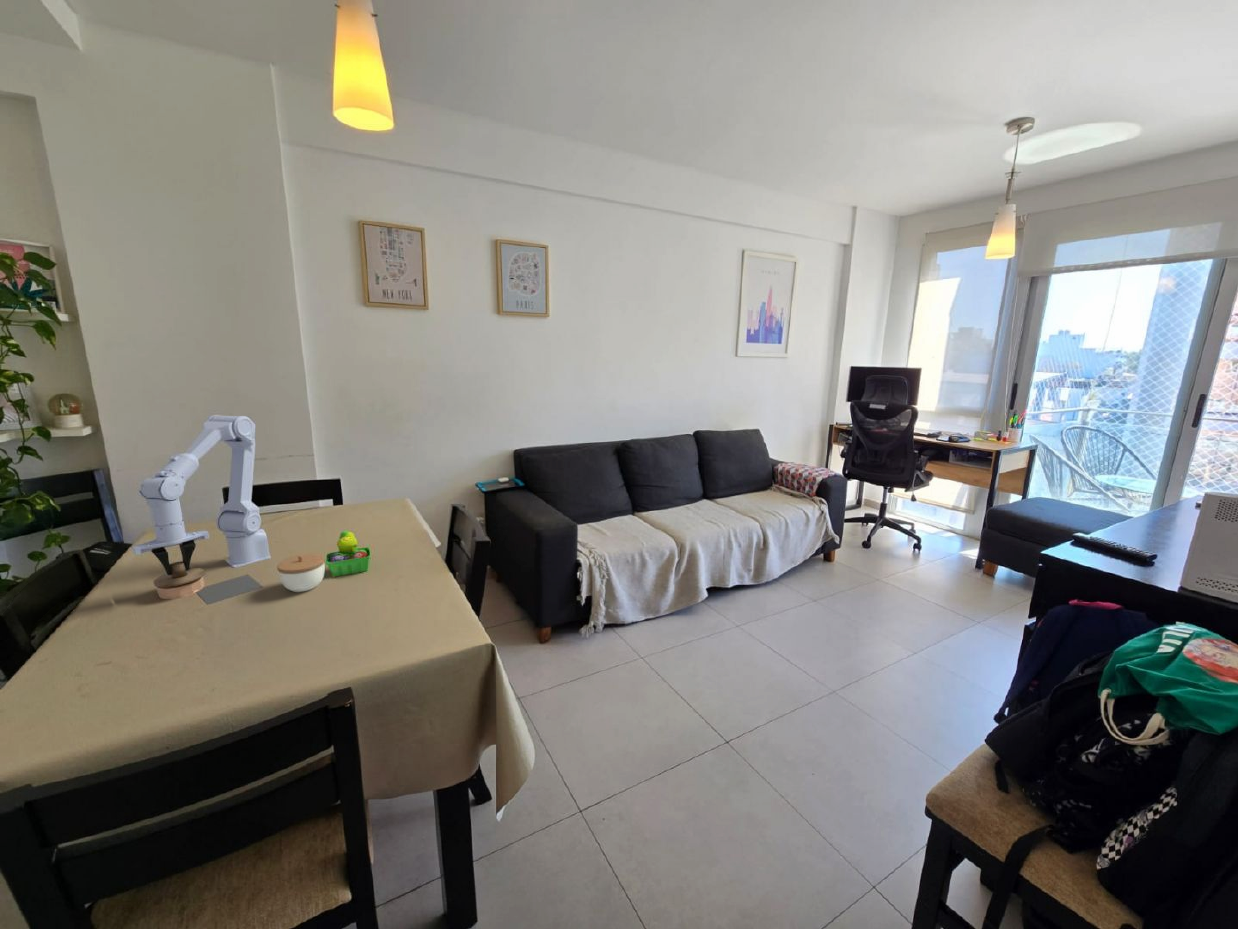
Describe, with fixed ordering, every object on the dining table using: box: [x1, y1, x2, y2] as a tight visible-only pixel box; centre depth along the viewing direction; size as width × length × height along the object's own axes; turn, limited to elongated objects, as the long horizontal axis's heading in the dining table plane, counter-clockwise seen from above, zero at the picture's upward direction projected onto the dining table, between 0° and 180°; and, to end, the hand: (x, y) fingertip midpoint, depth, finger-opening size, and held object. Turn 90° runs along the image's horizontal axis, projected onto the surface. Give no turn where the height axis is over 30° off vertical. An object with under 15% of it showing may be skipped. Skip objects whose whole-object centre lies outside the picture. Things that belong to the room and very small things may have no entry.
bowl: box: [156, 576, 205, 600], centre depth 130 cm, size 9×9×3 cm
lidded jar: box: [276, 553, 326, 593], centre depth 133 cm, size 11×11×9 cm
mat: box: [195, 573, 264, 605], centre depth 132 cm, size 12×12×1 cm
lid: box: [153, 560, 206, 588], centre depth 129 cm, size 10×10×4 cm
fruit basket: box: [325, 530, 372, 578], centre depth 144 cm, size 11×9×11 cm
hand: (178, 571), depth 129 cm, fingers closed on lid, 3 cm apart
